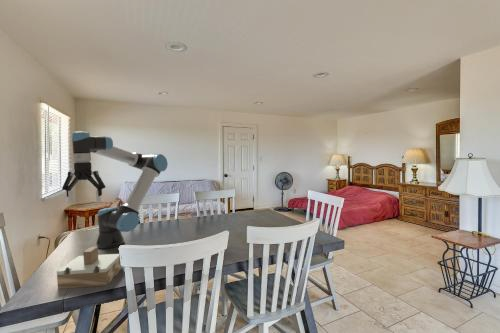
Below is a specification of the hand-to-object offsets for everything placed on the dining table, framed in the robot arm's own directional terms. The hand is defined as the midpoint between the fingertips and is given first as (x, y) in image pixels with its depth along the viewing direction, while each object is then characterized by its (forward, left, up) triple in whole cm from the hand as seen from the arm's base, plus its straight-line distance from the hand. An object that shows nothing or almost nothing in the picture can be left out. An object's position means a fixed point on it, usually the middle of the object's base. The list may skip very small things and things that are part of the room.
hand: (85, 202), depth 132 cm
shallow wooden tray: (+18, +11, -32) cm, 38 cm away
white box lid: (+18, +11, -26) cm, 33 cm away
